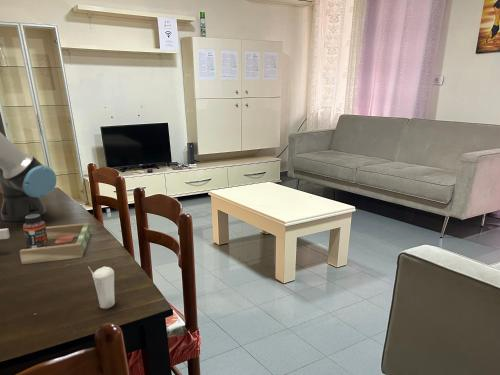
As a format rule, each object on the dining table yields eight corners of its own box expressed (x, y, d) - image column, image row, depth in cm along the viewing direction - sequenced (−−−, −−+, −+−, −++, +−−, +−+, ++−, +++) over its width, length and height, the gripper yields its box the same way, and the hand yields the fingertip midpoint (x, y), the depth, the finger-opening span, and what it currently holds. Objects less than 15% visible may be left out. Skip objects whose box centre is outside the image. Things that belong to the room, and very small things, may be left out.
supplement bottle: (39, 255, 110) (33, 219, 107) (22, 253, 112) (16, 218, 109) (53, 246, 116) (47, 213, 113) (37, 245, 117) (31, 212, 114)
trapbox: (39, 239, 122) (37, 227, 121) (90, 233, 126) (89, 222, 125) (21, 264, 105) (19, 251, 103) (82, 257, 109) (80, 244, 108)
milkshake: (96, 300, 87) (91, 261, 84) (120, 298, 87) (115, 260, 84) (90, 311, 82) (84, 271, 80) (114, 309, 83) (109, 270, 80)
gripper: (-71, 245, 111) (17, 236, 117) (-97, 265, 99) (2, 253, 105) (-77, 222, 109) (13, 214, 115) (-104, 239, 97) (-3, 229, 103)
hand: (8, 233), depth 110 cm, fingers closed
